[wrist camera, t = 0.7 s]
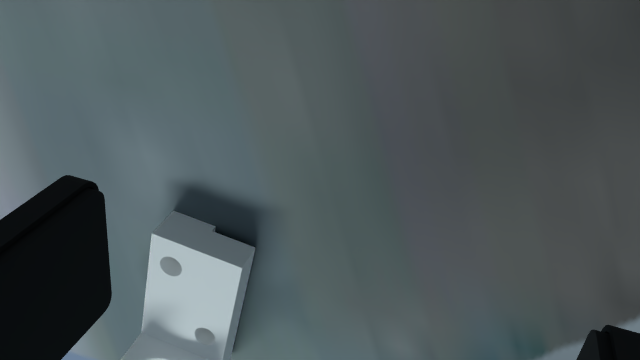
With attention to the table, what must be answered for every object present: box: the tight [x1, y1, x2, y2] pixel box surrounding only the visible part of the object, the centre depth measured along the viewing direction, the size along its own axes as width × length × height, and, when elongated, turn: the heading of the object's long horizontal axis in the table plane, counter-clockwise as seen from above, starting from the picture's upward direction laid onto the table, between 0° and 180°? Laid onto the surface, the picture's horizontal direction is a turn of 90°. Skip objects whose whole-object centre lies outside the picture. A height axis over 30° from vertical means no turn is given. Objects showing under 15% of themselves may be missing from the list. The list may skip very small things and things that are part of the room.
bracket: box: [120, 210, 255, 360], centre depth 46 cm, size 13×7×8 cm, turn 166°
